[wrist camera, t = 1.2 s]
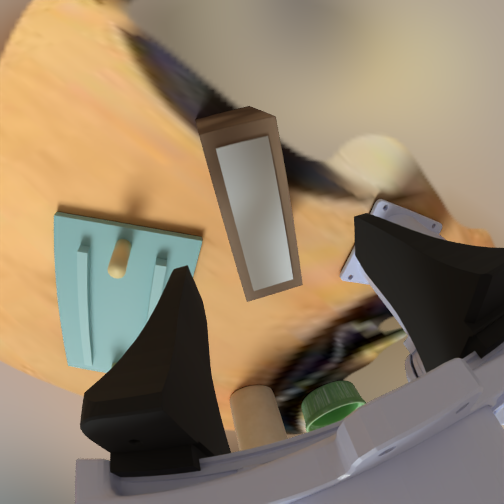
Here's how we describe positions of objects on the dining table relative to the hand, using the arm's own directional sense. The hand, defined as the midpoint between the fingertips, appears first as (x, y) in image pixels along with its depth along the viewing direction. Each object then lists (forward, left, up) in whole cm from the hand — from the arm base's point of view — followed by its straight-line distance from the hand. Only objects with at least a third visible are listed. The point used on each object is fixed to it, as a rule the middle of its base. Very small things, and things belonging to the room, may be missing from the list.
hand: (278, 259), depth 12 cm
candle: (-9, +25, -10) cm, 28 cm away
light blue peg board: (+7, +13, -9) cm, 18 cm away
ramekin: (-21, +26, -10) cm, 35 cm away
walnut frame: (0, 0, -10) cm, 10 cm away
